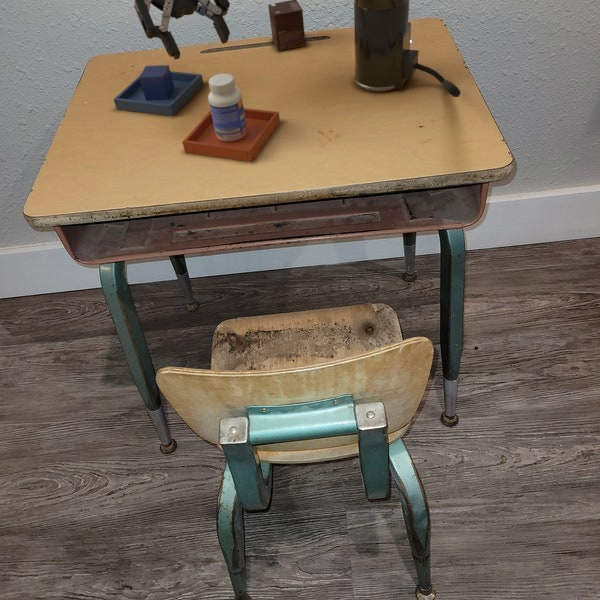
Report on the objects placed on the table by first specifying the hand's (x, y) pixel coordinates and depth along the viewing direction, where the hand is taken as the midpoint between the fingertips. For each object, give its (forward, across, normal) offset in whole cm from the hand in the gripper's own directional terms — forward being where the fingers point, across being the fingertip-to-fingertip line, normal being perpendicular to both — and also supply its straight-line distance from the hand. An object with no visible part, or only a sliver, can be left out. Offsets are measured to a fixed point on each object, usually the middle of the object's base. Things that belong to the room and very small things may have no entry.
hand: (202, 48), depth 95 cm
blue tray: (-2, -4, +20) cm, 21 cm away
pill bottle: (+13, 0, +5) cm, 14 cm away
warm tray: (+14, 0, +5) cm, 14 cm away
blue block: (-2, -4, +20) cm, 21 cm away
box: (-4, +26, +23) cm, 35 cm away
